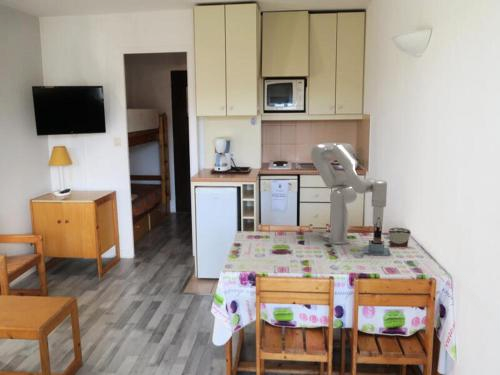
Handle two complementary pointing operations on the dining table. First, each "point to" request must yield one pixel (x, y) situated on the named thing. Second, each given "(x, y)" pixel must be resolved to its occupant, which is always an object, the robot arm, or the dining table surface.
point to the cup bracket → (376, 249)
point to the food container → (399, 237)
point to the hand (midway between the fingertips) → (377, 236)
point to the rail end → (377, 240)
